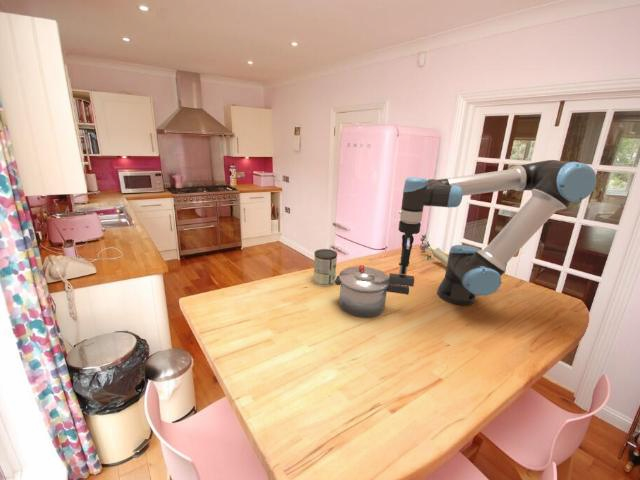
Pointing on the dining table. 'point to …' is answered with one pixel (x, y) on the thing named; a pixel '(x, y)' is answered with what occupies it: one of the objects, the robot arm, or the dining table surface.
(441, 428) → the dining table surface
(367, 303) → the pot
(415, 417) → the dining table surface
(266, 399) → the dining table surface
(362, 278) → the lid
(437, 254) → the flower vase
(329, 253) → the coffee can
